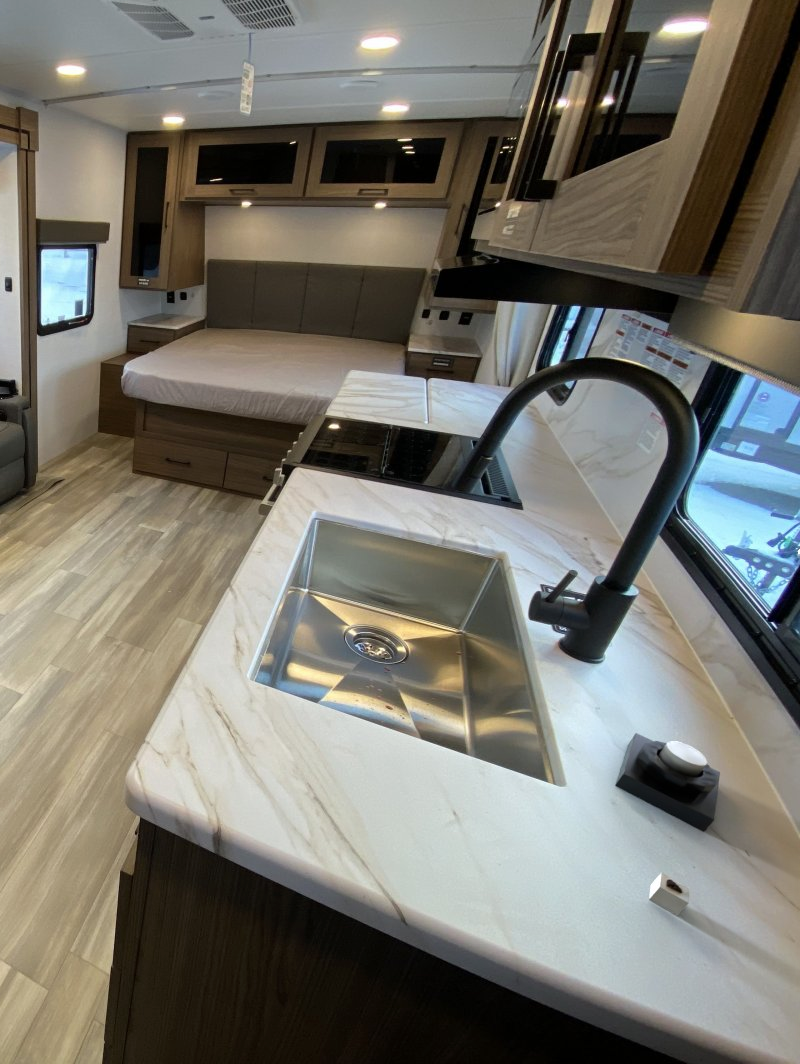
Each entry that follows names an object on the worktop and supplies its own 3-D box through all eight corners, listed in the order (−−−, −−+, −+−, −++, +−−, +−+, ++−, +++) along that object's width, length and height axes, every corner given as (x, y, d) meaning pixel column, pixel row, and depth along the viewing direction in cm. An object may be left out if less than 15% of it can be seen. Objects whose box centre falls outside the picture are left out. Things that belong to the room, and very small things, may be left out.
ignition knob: (660, 747, 71) (668, 736, 70) (699, 766, 69) (709, 754, 68) (656, 763, 69) (665, 751, 68) (697, 783, 67) (706, 770, 66)
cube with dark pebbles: (648, 900, 58) (660, 885, 57) (650, 885, 59) (662, 870, 58) (677, 916, 57) (690, 901, 56) (678, 901, 58) (691, 886, 57)
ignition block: (627, 744, 76) (642, 722, 75) (710, 784, 71) (728, 761, 69) (614, 786, 70) (630, 763, 68) (704, 832, 65) (723, 809, 63)
